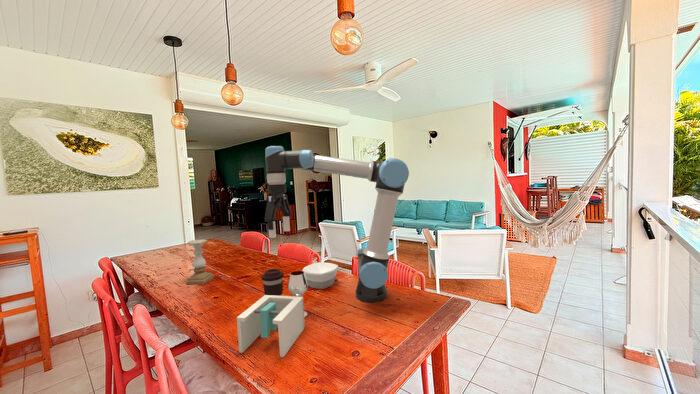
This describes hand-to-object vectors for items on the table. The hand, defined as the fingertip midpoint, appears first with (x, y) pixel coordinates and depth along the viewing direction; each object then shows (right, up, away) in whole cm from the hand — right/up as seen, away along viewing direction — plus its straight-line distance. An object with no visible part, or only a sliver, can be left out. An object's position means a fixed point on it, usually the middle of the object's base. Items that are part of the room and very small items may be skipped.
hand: (280, 234), depth 117 cm
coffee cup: (-6, -34, +13) cm, 37 cm away
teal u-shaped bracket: (+2, -31, -21) cm, 38 cm away
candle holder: (-59, -34, +46) cm, 82 cm away
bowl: (+14, -32, +33) cm, 48 cm away
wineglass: (+8, -34, -1) cm, 35 cm away
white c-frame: (+2, -35, -18) cm, 39 cm away
